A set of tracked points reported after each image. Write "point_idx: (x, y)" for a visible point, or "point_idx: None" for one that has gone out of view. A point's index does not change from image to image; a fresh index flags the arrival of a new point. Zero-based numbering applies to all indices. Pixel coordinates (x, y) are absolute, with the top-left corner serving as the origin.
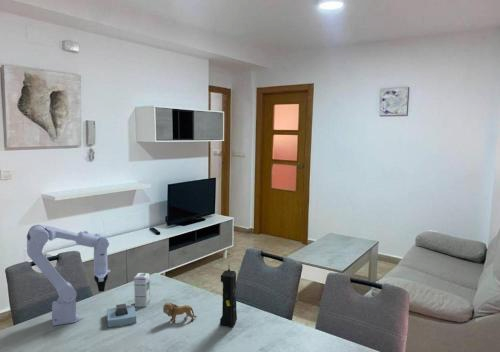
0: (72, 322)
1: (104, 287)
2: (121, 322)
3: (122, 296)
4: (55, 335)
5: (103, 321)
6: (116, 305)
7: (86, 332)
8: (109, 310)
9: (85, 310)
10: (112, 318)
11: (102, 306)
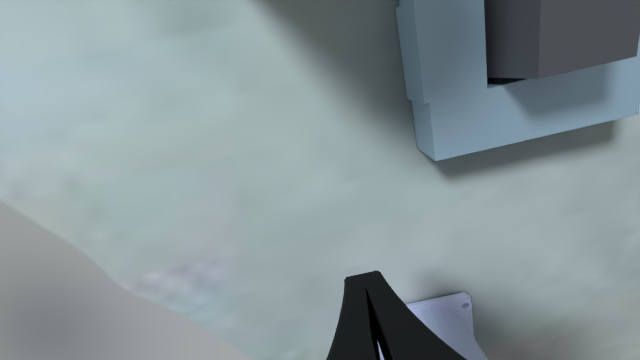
0: (470, 309)
1: (396, 297)
2: None
3: (101, 102)
4: (569, 337)
5: (496, 154)
6: (552, 73)
7: (599, 216)
8: (467, 138)
9: (326, 286)
10: (617, 84)
11: (278, 208)
